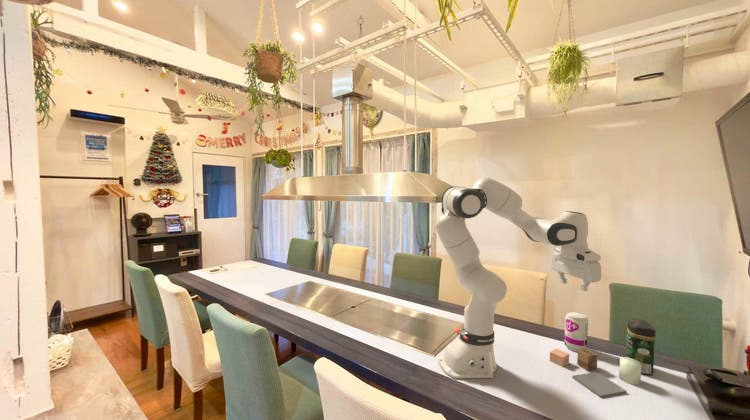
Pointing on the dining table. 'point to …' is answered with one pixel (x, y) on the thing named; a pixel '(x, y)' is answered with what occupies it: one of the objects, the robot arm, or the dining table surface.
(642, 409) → the dining table surface
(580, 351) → the walnut block
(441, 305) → the dining table surface
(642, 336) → the coffee jar
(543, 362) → the dining table surface
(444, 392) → the dining table surface
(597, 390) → the coaster
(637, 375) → the pale green capsule
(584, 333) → the supplement can
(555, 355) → the terracotta block
